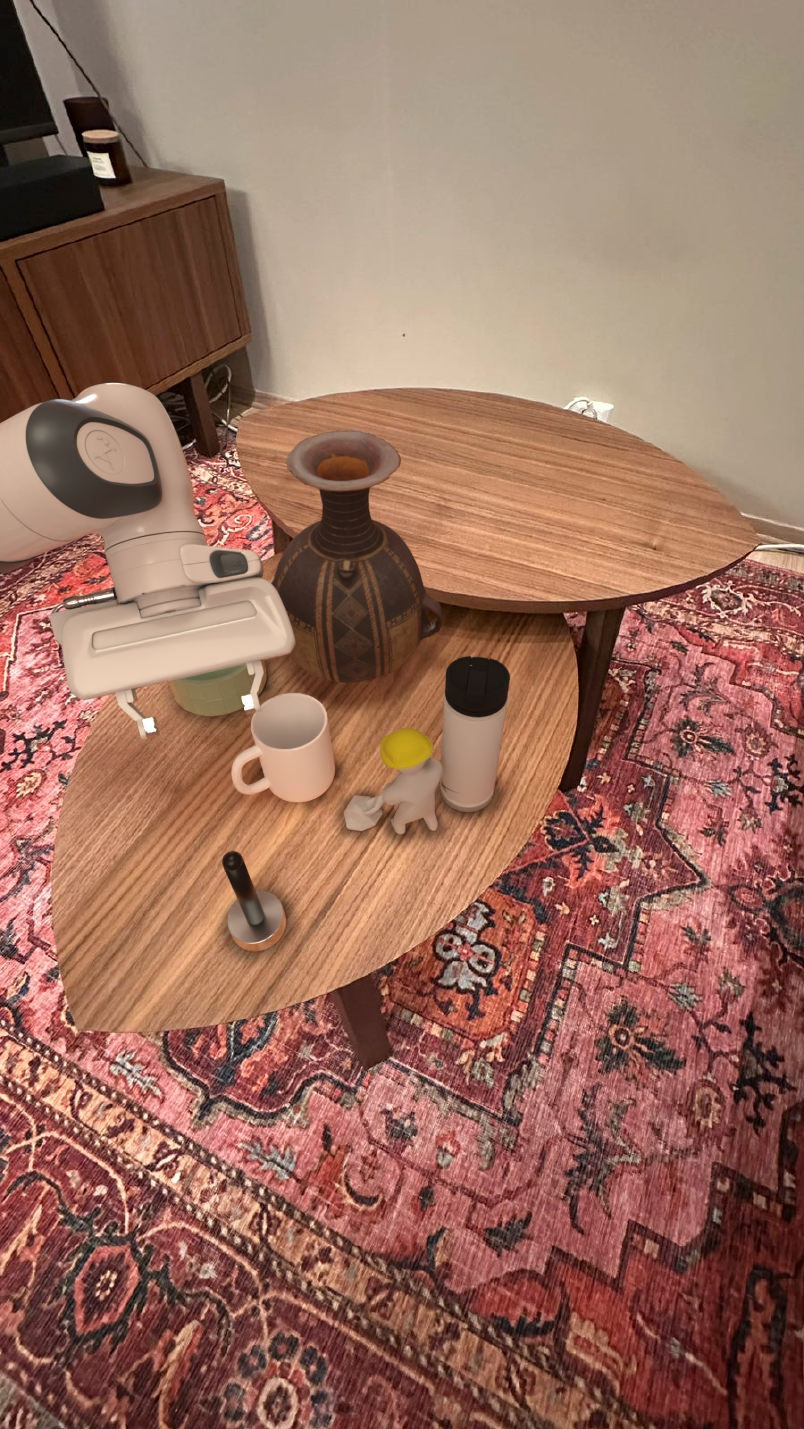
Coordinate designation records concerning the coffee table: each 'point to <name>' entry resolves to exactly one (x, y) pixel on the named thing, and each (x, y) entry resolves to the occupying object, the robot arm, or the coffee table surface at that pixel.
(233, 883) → the meat pounder
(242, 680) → the bowl
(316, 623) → the vase
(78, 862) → the coffee table surface
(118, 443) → the robot arm
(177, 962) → the coffee table surface
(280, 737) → the cup
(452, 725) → the travel mug
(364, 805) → the figurine
